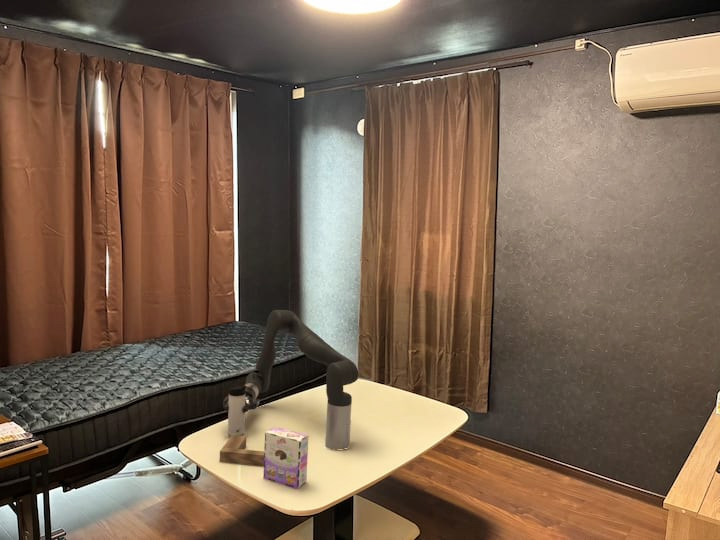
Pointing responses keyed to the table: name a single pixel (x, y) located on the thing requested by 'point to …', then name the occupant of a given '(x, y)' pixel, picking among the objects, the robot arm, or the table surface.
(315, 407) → the table surface
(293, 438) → the candy box
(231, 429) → the travel mug
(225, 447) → the wooden u-shaped block
